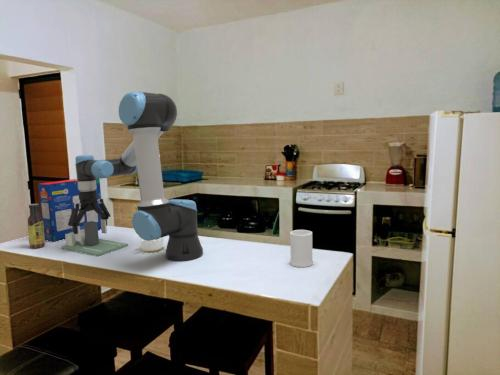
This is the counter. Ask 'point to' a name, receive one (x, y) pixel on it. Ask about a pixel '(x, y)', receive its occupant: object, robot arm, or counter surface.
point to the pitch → (96, 249)
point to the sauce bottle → (35, 227)
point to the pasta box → (63, 208)
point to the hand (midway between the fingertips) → (91, 236)
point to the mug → (301, 248)
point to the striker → (90, 234)
